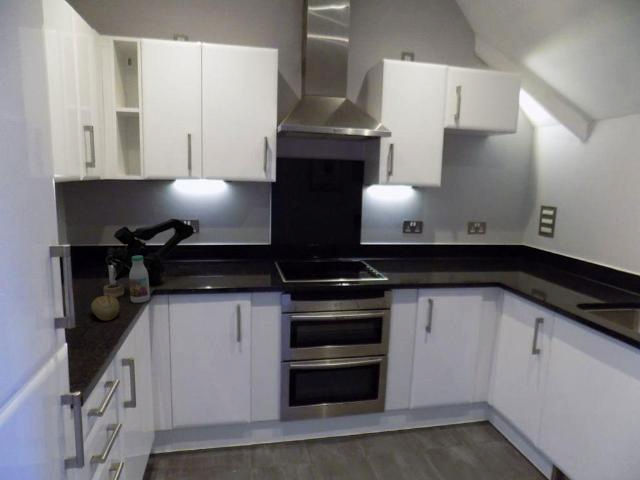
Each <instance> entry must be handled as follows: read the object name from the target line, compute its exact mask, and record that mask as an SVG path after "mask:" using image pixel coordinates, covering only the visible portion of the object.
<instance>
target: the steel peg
mask: <svg viewBox="0 0 640 480" xmlns="http://www.w3.org/2000/svg"><path fill="white" fill-rule="evenodd" d="M108 267H109V275H108V276H109V285H110V288H116V287H117V284H118V280H117V281H116V280H114V279H115V277H116V275H117V269H116V267H115V264H111V265H108Z"/></svg>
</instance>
